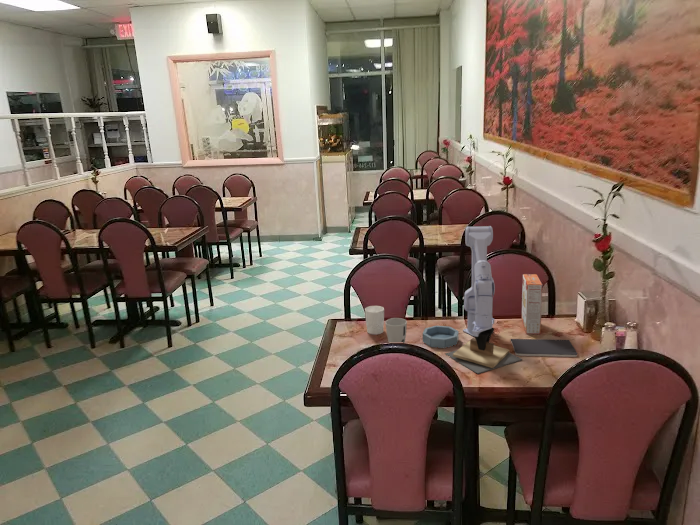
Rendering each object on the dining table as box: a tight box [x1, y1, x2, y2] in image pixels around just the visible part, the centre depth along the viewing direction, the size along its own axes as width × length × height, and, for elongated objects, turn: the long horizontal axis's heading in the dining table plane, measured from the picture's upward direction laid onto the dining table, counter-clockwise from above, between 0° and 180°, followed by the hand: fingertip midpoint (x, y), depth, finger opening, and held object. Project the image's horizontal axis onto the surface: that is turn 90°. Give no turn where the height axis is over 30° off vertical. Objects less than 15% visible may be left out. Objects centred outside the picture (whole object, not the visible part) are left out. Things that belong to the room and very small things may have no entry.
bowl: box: [422, 325, 459, 349], centre depth 197 cm, size 13×13×4 cm
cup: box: [384, 317, 408, 344], centre depth 194 cm, size 8×8×10 cm
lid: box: [453, 337, 511, 368], centre depth 181 cm, size 15×15×5 cm
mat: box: [444, 344, 523, 375], centre depth 182 cm, size 20×18×1 cm
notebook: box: [510, 338, 578, 358], centre depth 186 cm, size 13×2×21 cm
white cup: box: [364, 305, 385, 335], centre depth 208 cm, size 8×8×10 cm
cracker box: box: [521, 273, 543, 335], centre depth 203 cm, size 14×6×21 cm, turn 169°
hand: (483, 348), depth 181 cm, fingers closed on lid
